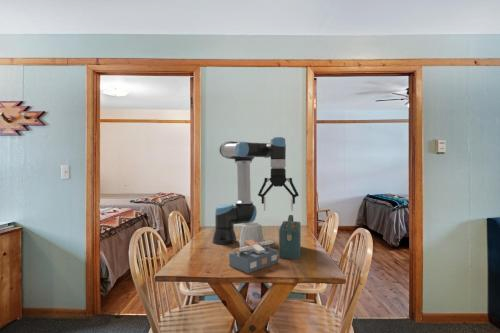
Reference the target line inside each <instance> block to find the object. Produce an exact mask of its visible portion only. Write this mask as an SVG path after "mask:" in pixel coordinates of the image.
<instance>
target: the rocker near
mask: <svg viewBox="0 0 500 333" xmlns="http://www.w3.org/2000/svg"><path fill="white" fill-rule="evenodd" d="M250 249H254V247H253V245H252V246H246V247H240V246H239V247H237V248H233V249H232V252H240V253H243V252H247V251H248V250H250Z"/></svg>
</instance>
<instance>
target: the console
mask: <svg viewBox="0 0 500 333" xmlns="http://www.w3.org/2000/svg"><path fill="white" fill-rule="evenodd" d="M270 245H271V244H268V246H264V247H263V248H264V249H265V252H262V253H259V254H257V253H256V252H255V251H253V250H251V249H250V250H248V251H247V252H243V253H240V252H233V251H232V252H229V253H228V254H229V255H228V256H229V263H228V265H229V267H231V268H234V269H237V270H239V271H242V272H244V273H246V274H250V273H253V272H256V271H258V270H260V269H264V268H268V267H269V266H272V265H275V264H278V262H279V261H278V259H279V257H278V256H279V249H275V248H271V247H270Z"/></svg>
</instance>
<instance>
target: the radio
mask: <svg viewBox="0 0 500 333" xmlns="http://www.w3.org/2000/svg"><path fill="white" fill-rule="evenodd" d="M301 224H302V223H301V221H294V215H293V214H289V215H288V218H287V221H286V220H283V221H282V222H281V225H280V227H279V230H278V237H279V239H278V242H279V243H278V247H279V249H278V256H279V257H278V258H281V259H291V260H292V259H295V260H299V259H300V258H301V246H302V245H301V241H302V240H301Z"/></svg>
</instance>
